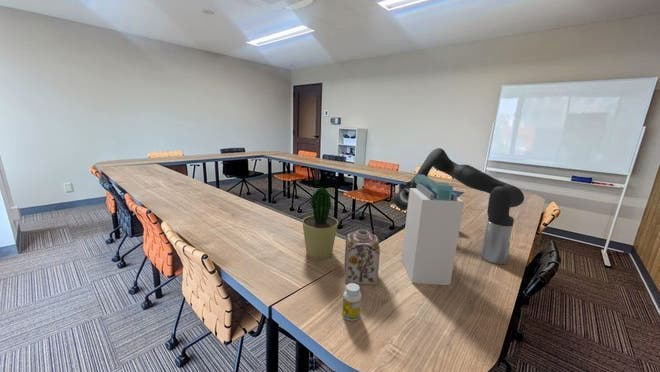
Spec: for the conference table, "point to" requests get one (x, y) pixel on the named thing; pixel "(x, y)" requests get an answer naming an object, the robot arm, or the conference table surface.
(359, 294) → the supplement bottle
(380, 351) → the conference table surface
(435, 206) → the tall white pedestal box
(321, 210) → the potted cactus
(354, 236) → the decorative jar
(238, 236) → the conference table surface
